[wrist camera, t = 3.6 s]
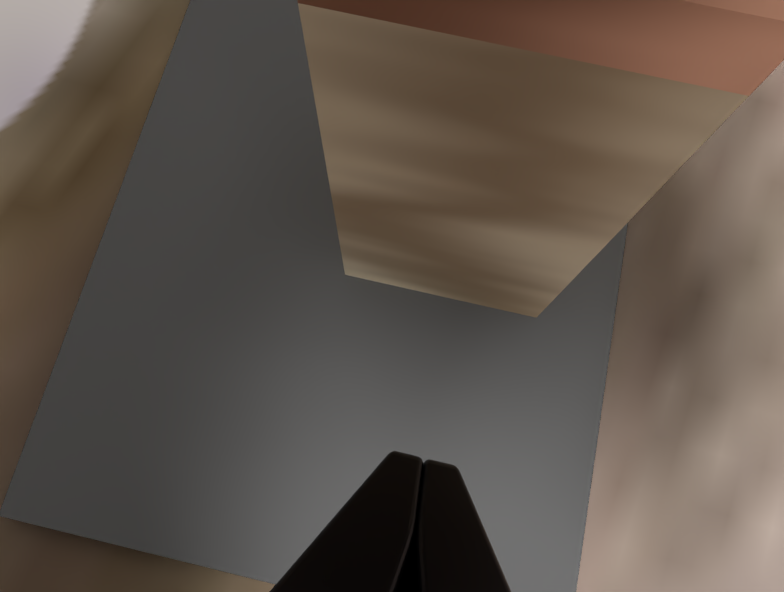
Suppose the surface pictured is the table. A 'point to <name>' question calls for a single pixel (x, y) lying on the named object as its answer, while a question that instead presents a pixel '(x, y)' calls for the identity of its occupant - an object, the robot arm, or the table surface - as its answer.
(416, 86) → the tan long rectangular block
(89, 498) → the rubber mat
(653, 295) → the table surface
